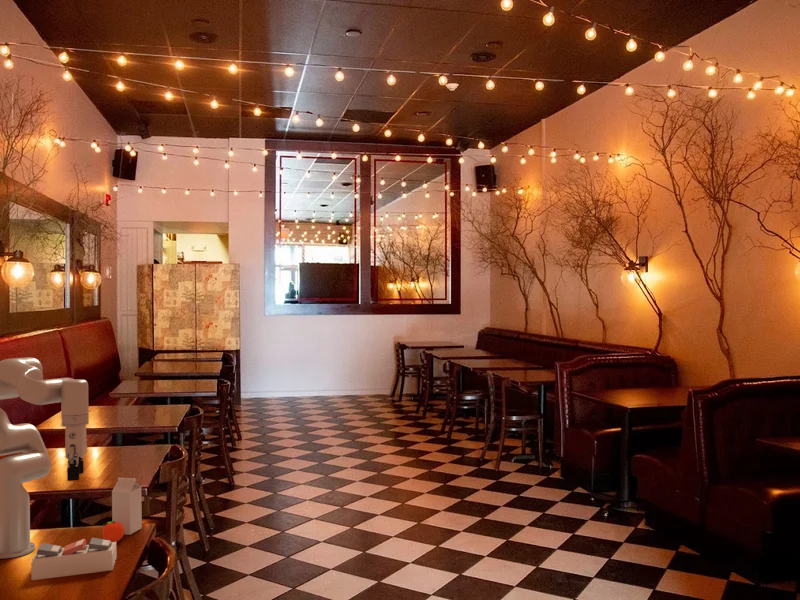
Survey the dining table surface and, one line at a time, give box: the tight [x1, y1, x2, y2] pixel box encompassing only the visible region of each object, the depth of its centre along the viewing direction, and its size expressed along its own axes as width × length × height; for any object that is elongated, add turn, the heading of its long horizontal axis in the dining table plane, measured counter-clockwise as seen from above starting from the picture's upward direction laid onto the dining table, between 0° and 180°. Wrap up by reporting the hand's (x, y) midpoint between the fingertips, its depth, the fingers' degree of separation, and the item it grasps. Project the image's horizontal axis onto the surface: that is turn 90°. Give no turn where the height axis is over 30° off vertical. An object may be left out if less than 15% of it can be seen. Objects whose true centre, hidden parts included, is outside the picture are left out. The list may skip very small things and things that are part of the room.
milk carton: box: [111, 477, 143, 536], centre depth 236 cm, size 7×7×19 cm
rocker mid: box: [63, 538, 87, 555], centre depth 201 cm, size 6×6×2 cm
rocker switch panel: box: [30, 542, 117, 581], centre depth 202 cm, size 22×11×6 cm, turn 108°
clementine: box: [101, 520, 125, 543], centre depth 225 cm, size 8×7×7 cm
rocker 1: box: [36, 542, 62, 556], centre depth 199 cm, size 6×6×2 cm
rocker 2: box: [88, 537, 111, 550], centre depth 203 cm, size 6×6×2 cm
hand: (75, 476), depth 203 cm, fingers open, 7 cm apart
